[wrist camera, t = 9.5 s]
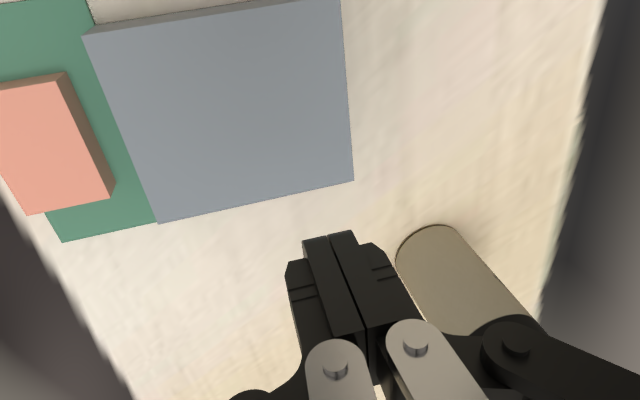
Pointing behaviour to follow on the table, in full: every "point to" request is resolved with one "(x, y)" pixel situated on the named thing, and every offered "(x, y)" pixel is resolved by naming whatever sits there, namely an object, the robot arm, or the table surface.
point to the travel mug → (456, 285)
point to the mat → (71, 56)
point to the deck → (228, 102)
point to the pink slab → (49, 146)
